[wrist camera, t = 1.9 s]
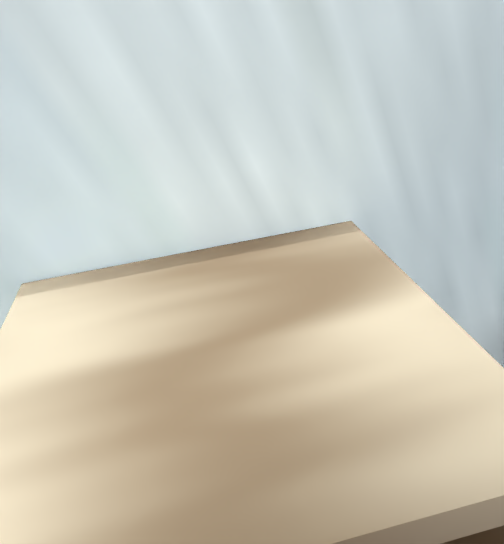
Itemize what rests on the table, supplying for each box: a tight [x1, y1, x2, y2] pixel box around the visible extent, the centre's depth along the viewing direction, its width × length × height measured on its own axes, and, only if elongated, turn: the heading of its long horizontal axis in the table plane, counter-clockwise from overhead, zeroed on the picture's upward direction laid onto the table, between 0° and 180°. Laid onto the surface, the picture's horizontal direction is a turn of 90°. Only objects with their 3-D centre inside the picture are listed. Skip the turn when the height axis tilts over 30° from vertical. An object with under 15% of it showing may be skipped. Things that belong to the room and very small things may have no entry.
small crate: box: [0, 221, 504, 544], centre depth 8 cm, size 6×6×6 cm
